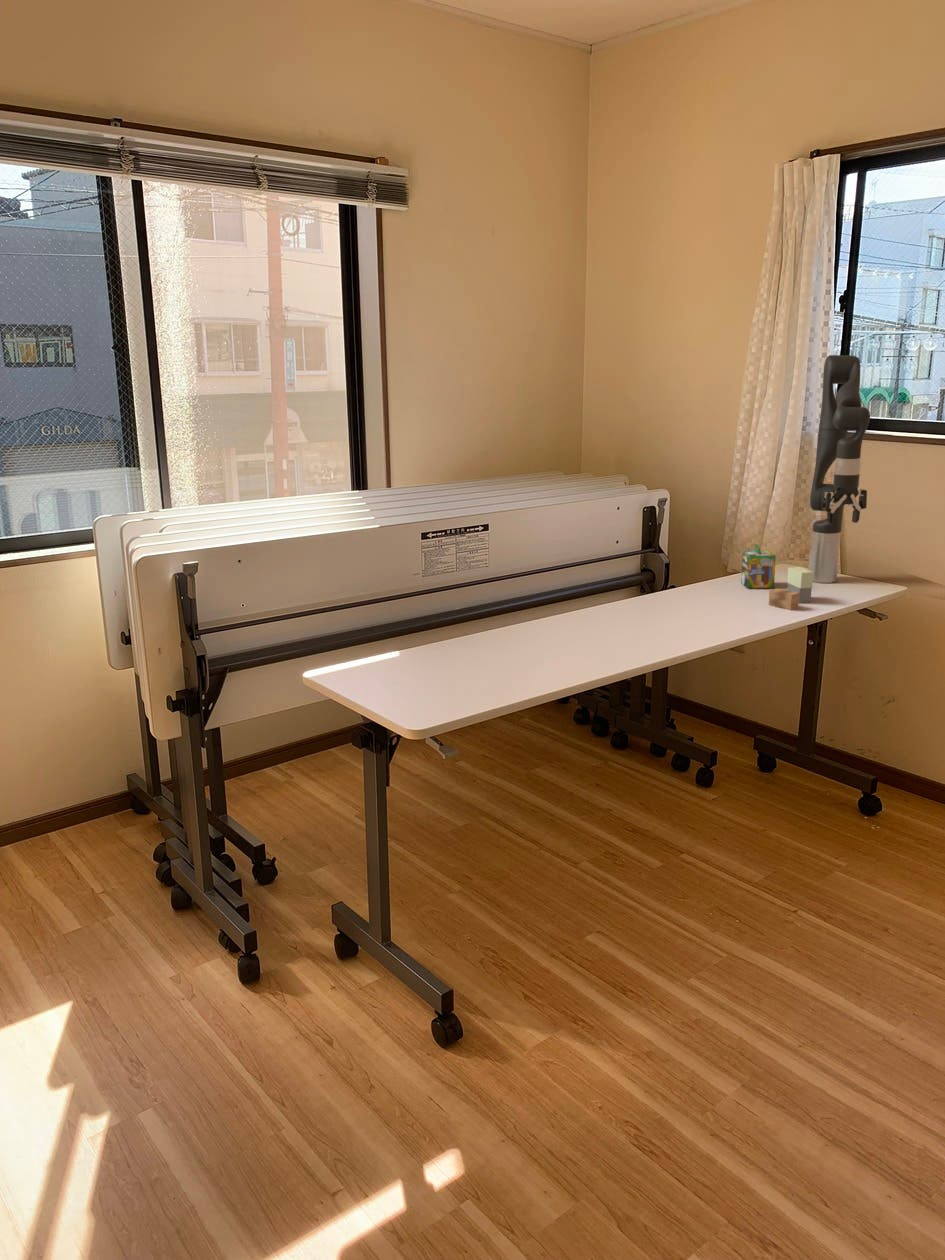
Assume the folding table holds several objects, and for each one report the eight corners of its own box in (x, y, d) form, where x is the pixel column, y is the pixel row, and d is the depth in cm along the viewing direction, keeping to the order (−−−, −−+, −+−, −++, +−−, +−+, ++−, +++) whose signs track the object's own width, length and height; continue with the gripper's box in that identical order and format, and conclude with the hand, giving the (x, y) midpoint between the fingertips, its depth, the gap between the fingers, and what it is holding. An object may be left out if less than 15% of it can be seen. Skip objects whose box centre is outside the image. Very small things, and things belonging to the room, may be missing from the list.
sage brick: (812, 587, 311) (813, 572, 309) (800, 588, 310) (801, 573, 308) (798, 581, 318) (799, 566, 317) (787, 582, 317) (788, 567, 316)
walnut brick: (768, 605, 310) (769, 590, 308) (776, 603, 312) (777, 588, 311) (790, 610, 304) (791, 595, 302) (798, 608, 306) (799, 592, 305)
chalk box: (774, 588, 330) (777, 545, 326) (747, 589, 330) (749, 546, 326) (766, 582, 339) (769, 540, 335) (740, 582, 339) (742, 540, 335)
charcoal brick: (787, 597, 319) (788, 582, 318) (798, 596, 320) (799, 581, 318) (798, 603, 311) (799, 588, 310) (810, 602, 312) (811, 587, 311)
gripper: (860, 469, 311) (855, 519, 316) (819, 472, 309) (815, 522, 314) (874, 472, 304) (869, 524, 309) (833, 475, 302) (829, 527, 307)
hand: (842, 523), depth 311 cm, fingers open, 8 cm apart
